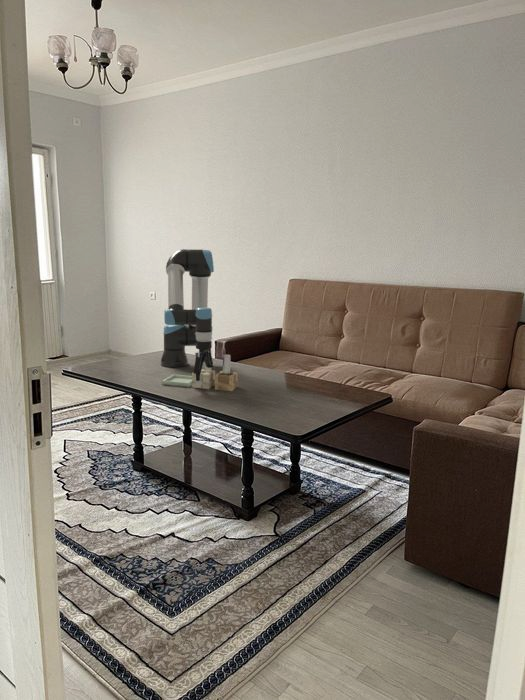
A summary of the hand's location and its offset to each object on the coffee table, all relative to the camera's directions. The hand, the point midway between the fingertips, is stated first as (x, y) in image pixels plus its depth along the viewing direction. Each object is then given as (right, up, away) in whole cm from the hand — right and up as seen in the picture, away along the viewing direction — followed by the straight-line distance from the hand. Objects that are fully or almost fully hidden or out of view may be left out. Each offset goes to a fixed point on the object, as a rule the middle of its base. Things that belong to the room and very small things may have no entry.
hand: (203, 383), depth 261 cm
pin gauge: (+11, -2, -2) cm, 11 cm away
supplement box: (-2, +3, +21) cm, 22 cm away
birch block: (0, -1, 0) cm, 1 cm away
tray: (-12, 0, +5) cm, 13 cm away
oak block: (+11, -2, -2) cm, 11 cm away
